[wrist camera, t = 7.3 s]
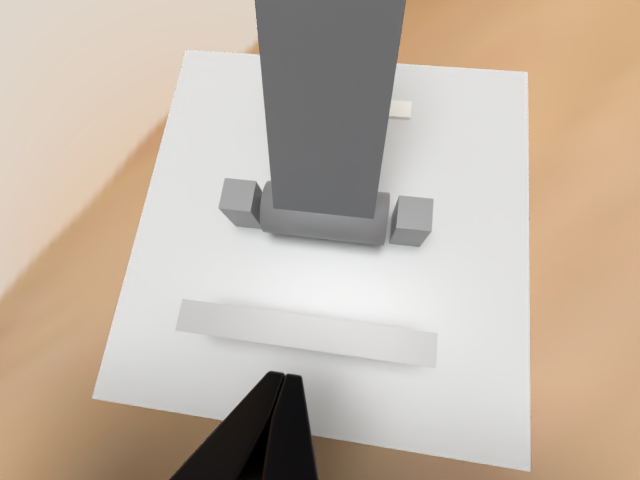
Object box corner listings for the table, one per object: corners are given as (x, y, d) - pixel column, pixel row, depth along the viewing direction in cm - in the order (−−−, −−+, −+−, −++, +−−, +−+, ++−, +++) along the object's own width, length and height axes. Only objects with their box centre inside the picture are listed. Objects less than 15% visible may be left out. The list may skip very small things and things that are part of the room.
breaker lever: (382, 256, 14) (473, -245, 6) (262, 242, 14) (202, -241, 6) (383, 222, 15) (458, -218, 7) (274, 210, 16) (237, -216, 8)
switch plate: (506, 454, 14) (586, 511, 10) (122, 391, 16) (26, 413, 11) (508, 100, 19) (566, 15, 14) (201, 77, 20) (155, -6, 15)
